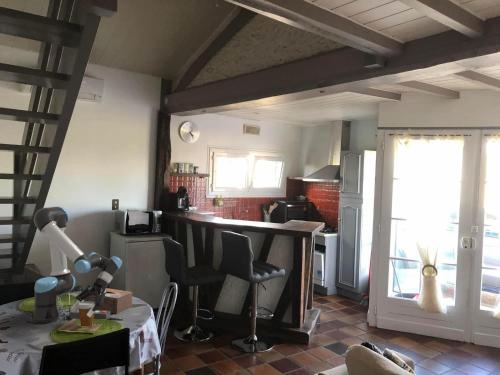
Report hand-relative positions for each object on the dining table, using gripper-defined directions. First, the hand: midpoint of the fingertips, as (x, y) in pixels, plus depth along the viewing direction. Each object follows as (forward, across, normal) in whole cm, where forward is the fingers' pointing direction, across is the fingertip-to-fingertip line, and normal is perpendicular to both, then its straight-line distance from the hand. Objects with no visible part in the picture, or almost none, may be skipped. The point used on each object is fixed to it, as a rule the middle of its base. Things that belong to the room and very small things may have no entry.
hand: (80, 313), depth 220 cm
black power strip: (-5, +5, -17) cm, 18 cm away
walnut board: (+4, 0, -7) cm, 8 cm away
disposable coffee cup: (+3, -2, -7) cm, 8 cm away
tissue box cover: (-17, +15, -29) cm, 37 cm away
